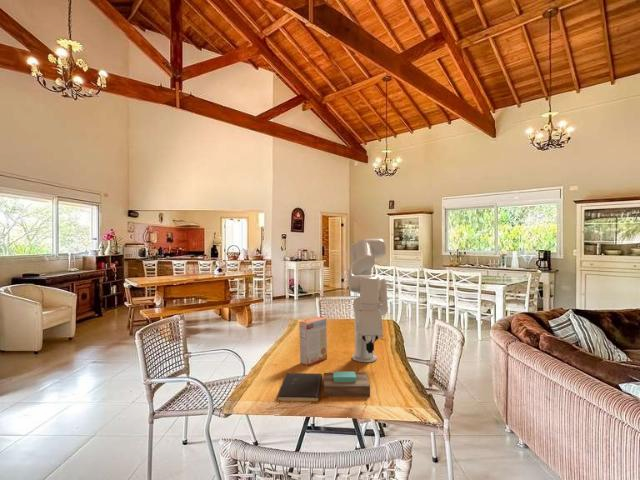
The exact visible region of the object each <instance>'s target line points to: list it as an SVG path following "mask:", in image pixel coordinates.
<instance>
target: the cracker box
mask: <svg viewBox="0 0 640 480" xmlns="http://www.w3.org/2000/svg"><path fill="white" fill-rule="evenodd" d="M298 323H299V324H298V325H299V329H298V330H299V358H300V359H299V361H300V364H302V365H305V366H310V365H313V364H316V363H319V362H322V361H324V360H326V359H328V342H327V341H328V339H327V337H328V333H327V318H325V317H321V316H317V317H315V318H314V317H312V318H310V319H309V318H308V319H306V320H300V321H299V322H298Z"/></svg>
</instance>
